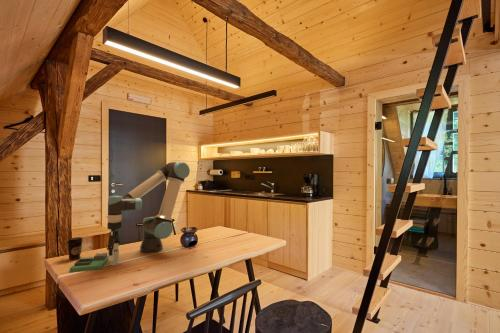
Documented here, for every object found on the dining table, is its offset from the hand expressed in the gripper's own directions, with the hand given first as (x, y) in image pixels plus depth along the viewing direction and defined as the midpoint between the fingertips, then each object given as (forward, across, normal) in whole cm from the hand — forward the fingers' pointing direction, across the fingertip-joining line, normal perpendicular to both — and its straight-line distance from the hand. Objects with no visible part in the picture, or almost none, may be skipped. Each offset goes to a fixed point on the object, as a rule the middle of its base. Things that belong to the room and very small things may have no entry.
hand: (113, 257), depth 160 cm
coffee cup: (+5, -17, -26) cm, 31 cm away
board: (+4, -2, -12) cm, 13 cm away
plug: (+4, 0, 0) cm, 4 cm away
